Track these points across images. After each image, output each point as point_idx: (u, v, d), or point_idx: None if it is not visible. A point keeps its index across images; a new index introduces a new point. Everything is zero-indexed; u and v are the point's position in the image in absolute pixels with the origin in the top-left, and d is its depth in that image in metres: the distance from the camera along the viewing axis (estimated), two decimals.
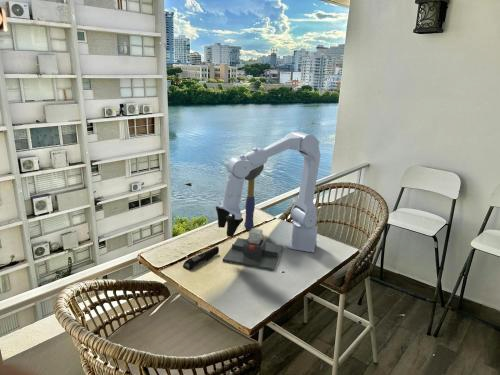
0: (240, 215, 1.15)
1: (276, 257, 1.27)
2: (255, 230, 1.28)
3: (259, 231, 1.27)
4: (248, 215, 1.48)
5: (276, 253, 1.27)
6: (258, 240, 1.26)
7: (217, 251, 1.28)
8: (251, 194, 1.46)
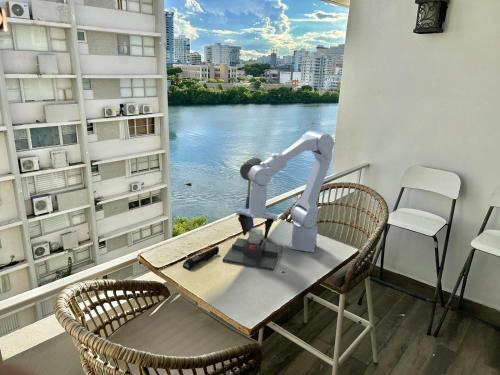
0: (277, 216, 1.24)
1: (276, 257, 1.27)
2: (255, 230, 1.28)
3: (259, 231, 1.27)
4: None
5: (276, 253, 1.27)
6: (258, 240, 1.26)
7: (217, 251, 1.28)
8: None
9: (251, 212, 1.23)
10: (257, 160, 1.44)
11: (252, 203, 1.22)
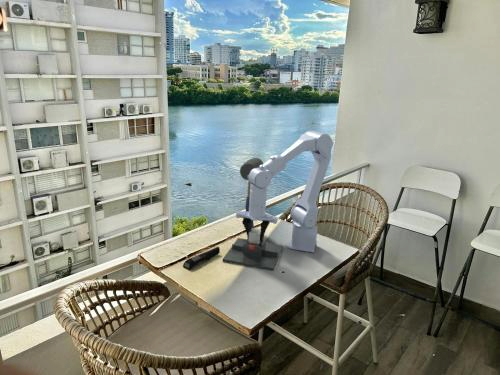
0: (277, 218, 1.25)
1: (276, 257, 1.27)
2: (255, 230, 1.28)
3: (259, 231, 1.27)
4: None
5: (276, 253, 1.27)
6: (258, 240, 1.26)
7: (218, 251, 1.28)
8: None
9: (251, 215, 1.24)
10: (257, 160, 1.44)
11: (252, 206, 1.22)
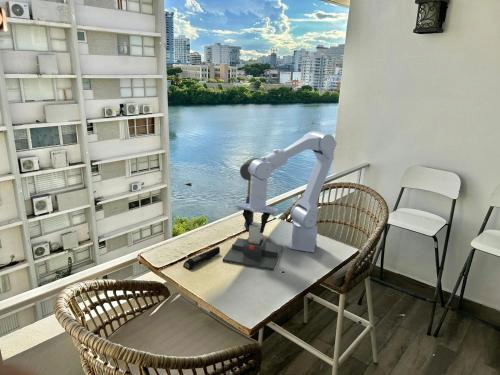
0: None
1: (276, 257, 1.27)
2: (255, 224, 1.27)
3: (259, 225, 1.27)
4: None
5: (276, 253, 1.27)
6: (258, 234, 1.25)
7: (218, 251, 1.28)
8: None
9: (251, 207, 1.23)
10: None
11: (252, 197, 1.22)
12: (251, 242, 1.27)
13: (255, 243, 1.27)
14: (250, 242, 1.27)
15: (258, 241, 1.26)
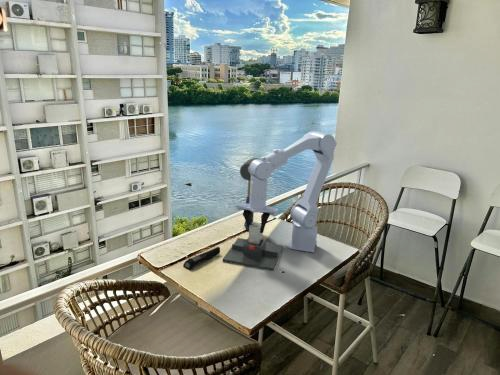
0: (277, 210, 1.24)
1: (276, 257, 1.27)
2: (255, 224, 1.27)
3: (259, 225, 1.27)
4: None
5: (276, 253, 1.27)
6: (258, 234, 1.25)
7: (218, 251, 1.28)
8: None
9: (251, 207, 1.23)
10: None
11: (252, 197, 1.22)
12: (251, 242, 1.27)
13: (255, 243, 1.27)
14: (250, 242, 1.27)
15: (258, 241, 1.26)
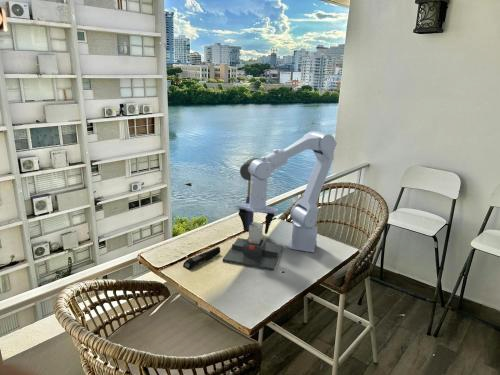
0: None
1: (276, 257, 1.27)
2: (255, 224, 1.27)
3: (259, 225, 1.27)
4: (248, 215, 1.48)
5: (276, 253, 1.27)
6: (258, 234, 1.25)
7: (218, 251, 1.28)
8: None
9: (251, 207, 1.23)
10: None
11: (252, 197, 1.22)
12: (251, 242, 1.27)
13: (255, 243, 1.27)
14: (250, 242, 1.27)
15: (258, 241, 1.26)
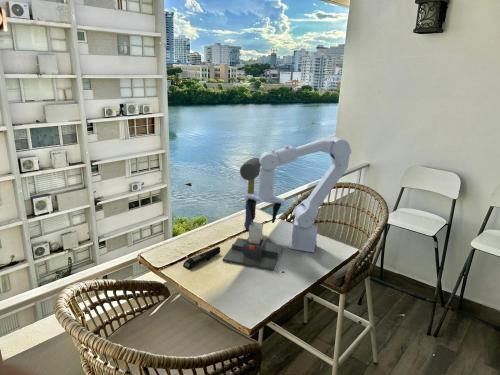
0: (284, 200, 1.30)
1: (276, 257, 1.27)
2: (255, 224, 1.27)
3: (259, 225, 1.27)
4: (248, 215, 1.48)
5: (276, 253, 1.27)
6: (258, 234, 1.25)
7: (218, 251, 1.28)
8: None
9: (260, 197, 1.29)
10: (257, 160, 1.44)
11: (261, 188, 1.28)
12: (251, 242, 1.27)
13: (255, 243, 1.27)
14: (250, 242, 1.27)
15: (258, 241, 1.26)
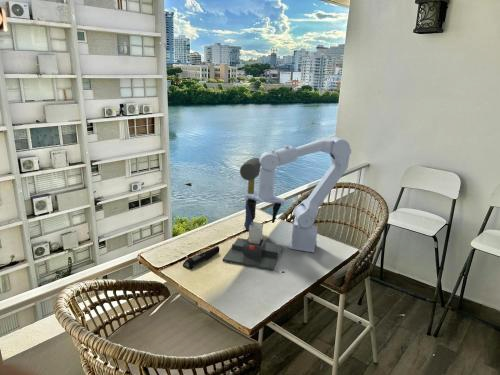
0: (284, 200, 1.30)
1: (276, 257, 1.27)
2: (255, 224, 1.27)
3: (259, 225, 1.27)
4: (248, 215, 1.48)
5: (276, 253, 1.27)
6: (258, 234, 1.25)
7: (217, 251, 1.28)
8: None
9: (260, 197, 1.29)
10: (257, 160, 1.44)
11: (261, 188, 1.28)
12: (251, 242, 1.27)
13: (255, 243, 1.27)
14: (250, 242, 1.27)
15: (258, 241, 1.26)
